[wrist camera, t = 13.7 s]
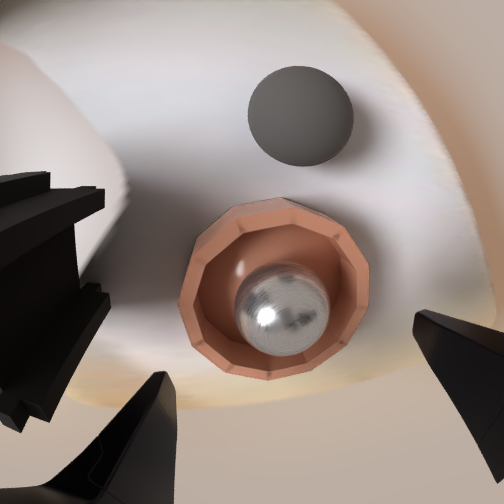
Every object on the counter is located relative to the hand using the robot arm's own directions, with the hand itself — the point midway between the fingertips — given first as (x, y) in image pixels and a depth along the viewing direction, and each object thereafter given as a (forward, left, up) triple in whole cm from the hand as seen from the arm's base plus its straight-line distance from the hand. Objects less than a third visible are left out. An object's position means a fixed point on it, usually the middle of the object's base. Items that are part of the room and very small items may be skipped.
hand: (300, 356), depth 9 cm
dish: (0, 0, -6) cm, 6 cm away
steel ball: (0, 0, -3) cm, 3 cm away
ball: (-8, +2, -4) cm, 9 cm away
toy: (-4, -7, +1) cm, 8 cm away
